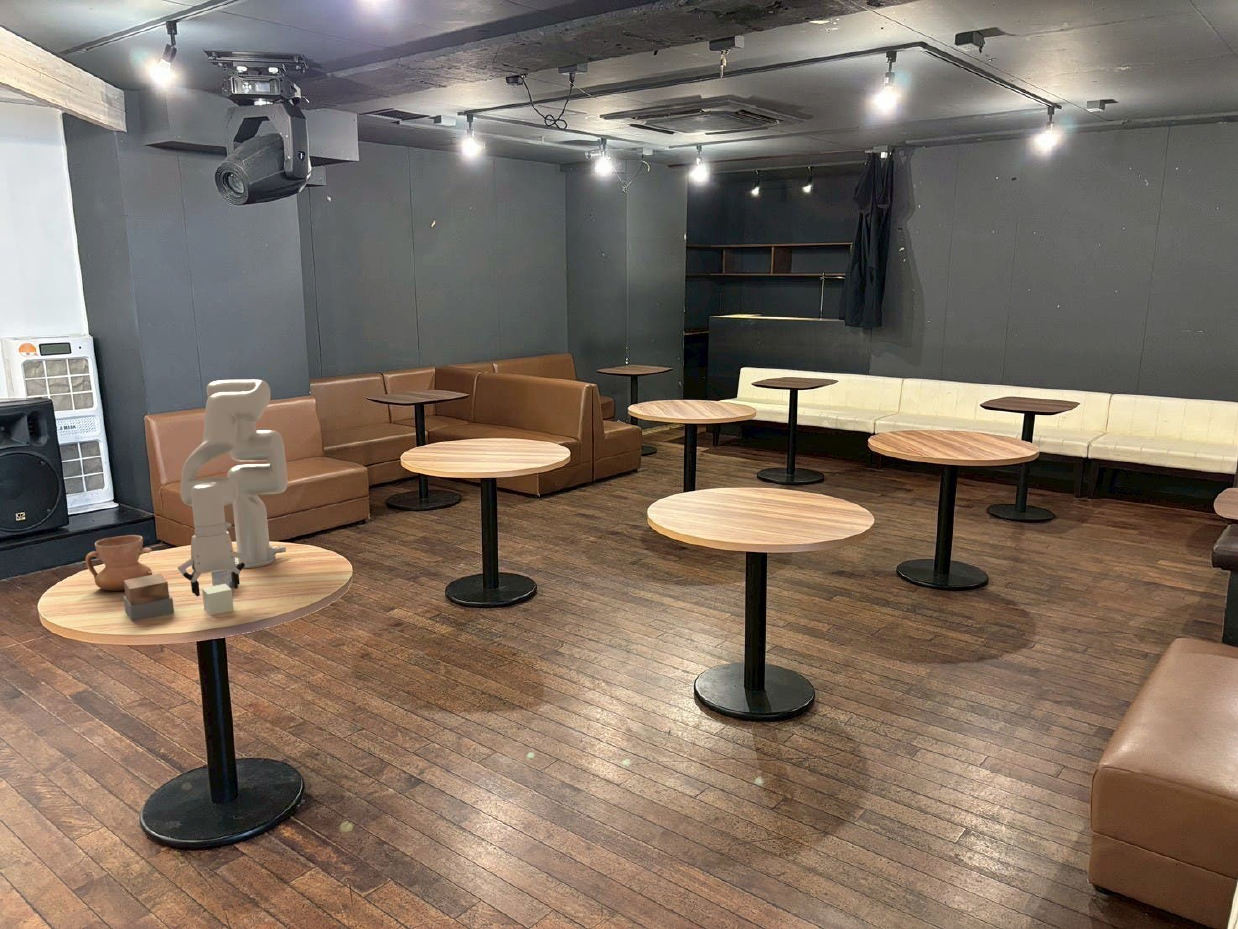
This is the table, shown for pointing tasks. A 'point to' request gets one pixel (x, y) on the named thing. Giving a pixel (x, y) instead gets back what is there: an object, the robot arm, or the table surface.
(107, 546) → the ceramic jug
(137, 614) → the tower base block
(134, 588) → the tower top block
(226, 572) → the medicine box
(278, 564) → the table surface
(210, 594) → the cream cube
